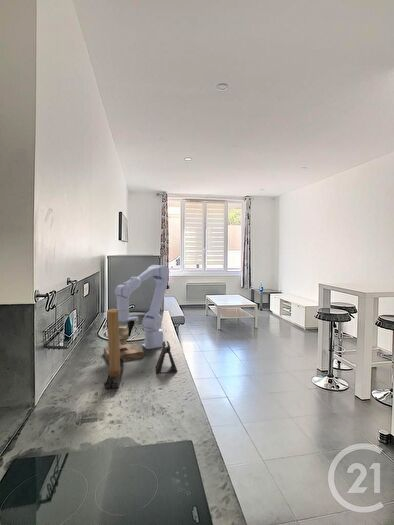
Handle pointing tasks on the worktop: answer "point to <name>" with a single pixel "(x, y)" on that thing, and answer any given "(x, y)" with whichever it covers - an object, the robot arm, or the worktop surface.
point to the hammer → (114, 351)
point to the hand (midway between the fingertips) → (123, 337)
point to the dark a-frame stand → (161, 358)
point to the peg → (123, 334)
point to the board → (127, 352)
